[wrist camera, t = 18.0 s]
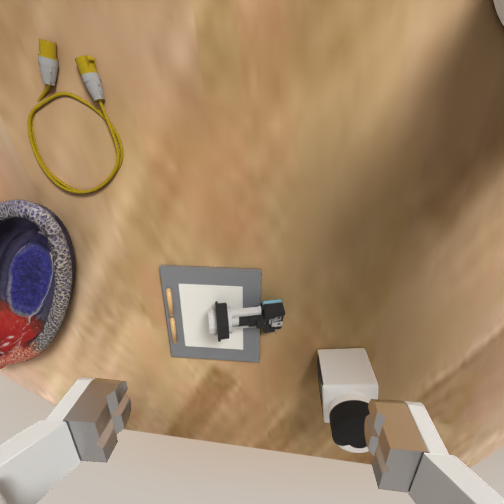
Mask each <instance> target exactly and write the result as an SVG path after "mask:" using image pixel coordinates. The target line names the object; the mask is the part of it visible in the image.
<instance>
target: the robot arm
mask: <svg viewBox="0 0 504 504" xmlns="http://www.w3.org/2000/svg"><path fill="white" fill-rule="evenodd" d="M493 1H494V5H495V9H496V12H497V14H498V17H499V19H500V21H501V22H502V24H503V26H504V0H493ZM127 389H128V387H127V384H126V381H119V380H110V379H100V378H88V377H81V378H79V379H78V380H76V382H75V383H74V384H73V385H72V387H71V388H70V389H69V391H68V392H67V393H66V394H65V396H64V397H63V398H62V399H61V401H60V402H59V403H58V404H57V406H56V407H55V408H54V410H53V411H52V412H51V413H50V415H49V416H48V417H47V418H46V420H42V419H41V420H39V421H38V422H36V423H35V424H33V425H31V426H30V427H28V428H27V429H25V430H23V431H22V432H20V433H19V434H17V435H15V436H14V437H12V438H11V439H9V440H7V441H6V442H4V443H2V444H1V445H0V504H36V503H37V502H38V501H39V500H40V499H41V498H42V497H44V496H45V495H46V494H47V493H48V492H49V491H50V490H51V489H52V488H53V487H54V486H56V485H57V484H58V483H59V482H60V481H61V480H62V479H63V478H64V477H65V476H66V475H68V474H69V473H70V472H71V471H72V470H73V469H74V468H75V467H76V466H77V465H78V464H80V463H81V461H93V462H107V461H108V459H109V457H110V455H111V453H112V451H113V449H114V448H115V446H116V444H117V442H118V441H117V435H116V434H118V433H119V432H120V431H121V430H123V429H124V428H125V426H126V424H127V422H128V419H129V416H130V412H131V400H130V398H129V397H128V396H127V395H126V394H125V393H126V391H127ZM368 409H369V412H370V414H369V415H367V416H366V418H365V424H364V431H365V439H366V444H367V448H368V450H369V451H370V452H371V453H372V455H373V456H374V458H373V462H372V466H373V470H374V474H375V477H376V481H377V485H378V489H384V490H392V491H400V492H408V493H409V495H410V497H411V498H412V499H413V500H414V502H415V503H416V504H504V498H502V497H501V496H500V495H499V494H498V493H497V492H496V491H494V490H493V489H492V488H491V487H490V486H489V485H488V484H487V483H485V482H484V481H483V480H482V479H481V478H480V477H479V476H477V475H476V474H475V473H474V472H473V471H472V470H471V469H470V468H468V467H467V466H466V465H465V464H464V463H463V462H462V461H460V460H459V459H458V458H457V457H456V456H455V455H449V453H448V451H447V449H446V447H445V445H444V444H443V442H442V440H441V438H440V436H439V434H438V432H437V430H436V428H435V426H434V424H433V422H432V420H431V418H430V416H429V414H428V412H427V410H426V409H425V407H424V405H423V404H422V403H421V402H409V401H398V400H382V399H371V400H370V401H369V405H368Z"/></svg>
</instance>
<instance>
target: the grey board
mask: <svg viewBox="0 0 504 504" xmlns="http://www.w3.org/2000/svg"><path fill="white" fill-rule="evenodd" d="M160 275H161V282H162V289H163V296H164V304H165V311H166V318H167V325H168V332H169V340H170V347H171V354H172V357H186V358H201V359H216V360H231V361H246V362H259V361H260V328H258V329H257V328H256V327H251V328H242V329H234V330H232V333H230V334H229V339H222V340H221V342H218V335H216V336H215V335H213V336H210V330H209V317H208V309H211V308H213V307H214V308H215V301H218V303H226V304H227V307H230V308H231V309H240V308H250V307H254V306H257V305H261V269H250V268H226V267H202V266H179V265H161V266H160Z"/></svg>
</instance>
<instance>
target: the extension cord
mask: <svg viewBox="0 0 504 504" xmlns="http://www.w3.org/2000/svg"><path fill="white" fill-rule="evenodd" d="M39 51H40V54H39V53H38V63H39V67H40V72H41V76H42V79H43V83H44V84H47V86H46V88H45V90H44V91H43V93H42V94H41V95H40V97H39V98H38V100H37V102H39V101H41V100H42V99H43V98H44V96H45V95H46V94H47V92H48V91H49V89H50V85H52V86H55V83H56V78H57V72H58V68H59V67H58V59H57V53H56V44H55V43H52V42H49V41H46V40H42V39H39ZM75 61H76V64H77V66H78V69H79V72H80V74H81V77H82V80H83V83H84V84H85V86H86V88H87V89H88V91H89V93H90V94H91V96H92V98H93V99H94V101H95V102H99V104H100V107H101V109H102V112H103V114H104V115H103V114H102V113H101V112H100V111H99V110H98V109H97V108H95V107H94V106H93V105H91V104H90V103H88V102H87V101H85V100H83V99H81V98H79V97H78V96H76V95H73V94H71V93H67V92H59V93H56V94H54V95H52V96H50V97H48V98H47V99H45V100H43V101H42V102H41V103H39V104H38V105H37V106H35V107H34V108H33V109H32V110H31V111H30V114H29V117H28V135H29V139H30V143H31V146H32V149H33V152H34V154H35V157H36V159H37V161H38V163H39V165H40V166H41V168H42V169H43V171H44V172H45V174H46V175H47V176H48V177H49V179H51V180H52V181H53V182H54V183H55V184H56V185H57V186H59V187H60V188H62V189H64V190H66V191H69V192H73V193H80V194H82V193H90V192H94V191H96V190H98V189H100V188H102V187H103V186H104V185H106V184H107V183H108V182H109V181H110V180H111V179H112V178H113V176H114V175H115V174H116V173H117V171H118V170H119V168H120V167H121V165H122V161H123V147H122V143H121V140H120V137H119V135H118V133H117V131H116V129H115V128H114V127H113V125H112V124H111V122H110V121H109V119H108V116H107V114H106V111H105V109H104V106H103V104H102V101H103V100H105V98H104V94H103V88H102V84H101V79H100V77H99V74H98V72H97V69H96V66H95V59H94V58H93V57H91V56H80V57H77V58H76V59H75ZM64 95H66V96H70V97H73V98H75V99H77V100H79V101H81V102H82V103H84V104H86V105H87V106H89V107H90V108H92V109H93V110H94V111H96V112H97V113H98V114H99V115H100V116H101V117H102V118H104V119H105V121H106V122H107V124H108V127H109V129H110V132H111V135H112V137H113V140H114V144H115V148H116V154H117V159H116V165H115V167H114V169H113V171H112V173H111V174H110V176H109V177H108V178H107V179H106V180H105V181H104V182H103V183H102V184H101V185H99V186H97V187H96V188H93V189H90V190H86V191H83V190H77V189H74V188H72V187H70V186H68V185H66V184H65V183H63V182H62V181H60V180H59V179H58V178H56V177H55V176H54V175H53V174H52V173H51V172H50V171H49V169H48V168H47V167H46V165H45V164H44V162H43V160H42V158H41V156H40V154H39V151H38V147H37V144H36V140H35V135H34V130H33V119H34V116H35V114H36V111H37V109H39V108H40V107H41V106H43V105H44V104H46V103H47V102H49V101H51V100H52V99H54V98H56V97H59V96H64ZM114 133H115V134H114ZM115 135H116V137H117V140H118V143H119V147H120V153H119V147H118V143H117V140H116V137H115ZM119 159H120V161H119ZM54 179H55V180H54ZM59 183H60V184H61V185H60V184H59ZM62 185H63V186H62Z"/></svg>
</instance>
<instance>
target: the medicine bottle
mask: <svg viewBox="0 0 504 504" xmlns="http://www.w3.org/2000/svg"><path fill="white" fill-rule="evenodd" d="M317 366H318V384H319V391H320V398H321V404H322V411H323V418H324V422H325V423H330V425H331V431H332V437H333V440H334V442H335V443H336V444H337V445H338V446H339V447H340V448H342V449H343V450H346V451H348V452H353V453H364V452H368V451H369V450H368V448H367V444H366V439H365V431H364V424H365V418H366V416H367V415H369V414H370V412H369V409H368V405H369V401H370V400H371V399H378V388H379V385H378V382H377V380H376V377H375V374H374V372H373V369H372V366H371V363H370V361H369V358H368V355H367V353H366V350H365V349H364V348H347V349H320V350H317Z"/></svg>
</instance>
